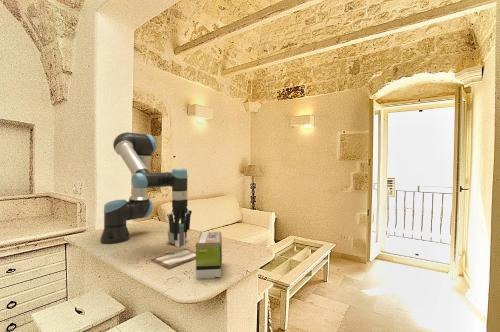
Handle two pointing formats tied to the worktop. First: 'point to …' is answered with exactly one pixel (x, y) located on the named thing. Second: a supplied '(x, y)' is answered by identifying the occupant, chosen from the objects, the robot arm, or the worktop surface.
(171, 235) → the teacup
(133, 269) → the worktop surface
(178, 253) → the clipboard
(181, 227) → the marker
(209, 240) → the tea box
